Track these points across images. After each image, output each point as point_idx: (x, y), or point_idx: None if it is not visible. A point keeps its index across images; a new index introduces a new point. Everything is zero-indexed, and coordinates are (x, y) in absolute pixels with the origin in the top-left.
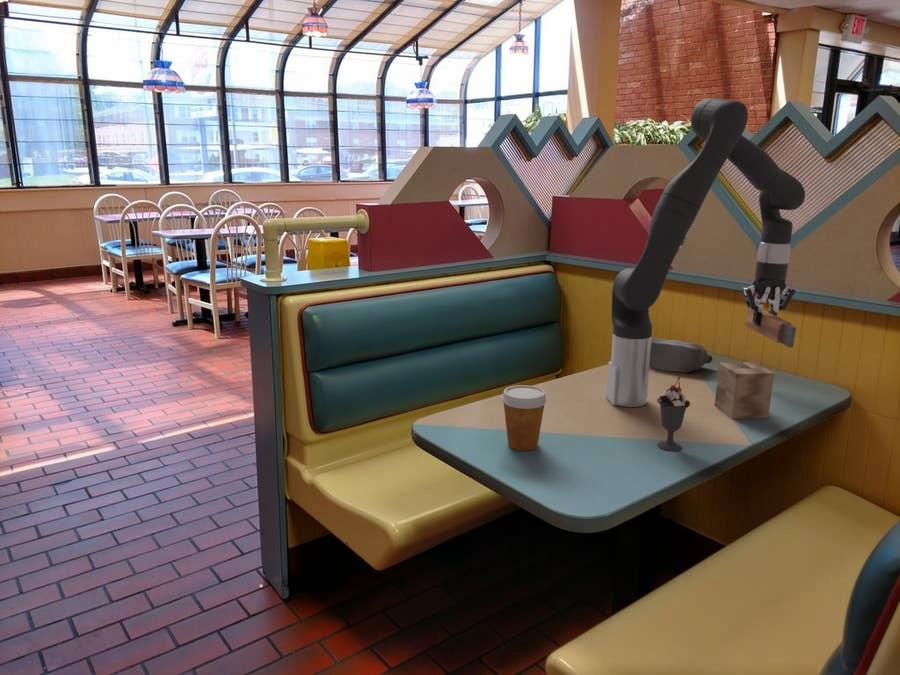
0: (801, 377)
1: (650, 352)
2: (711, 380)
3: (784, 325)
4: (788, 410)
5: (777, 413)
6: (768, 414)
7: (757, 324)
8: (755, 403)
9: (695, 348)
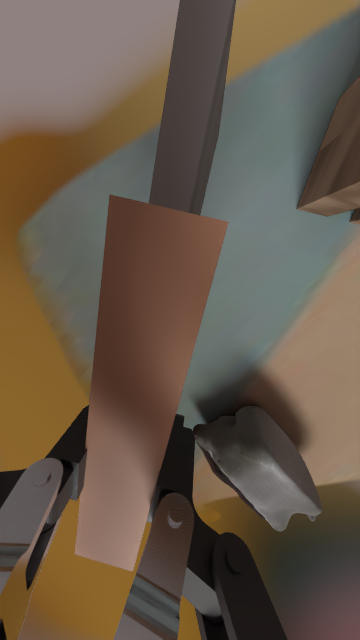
0: (64, 323)
1: (311, 483)
2: (246, 364)
3: (193, 193)
4: (242, 139)
5: (287, 126)
6: (346, 91)
7: (182, 423)
8: None
9: (260, 452)
